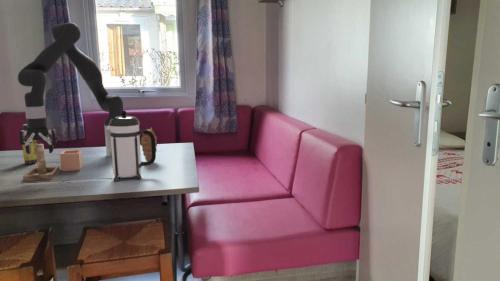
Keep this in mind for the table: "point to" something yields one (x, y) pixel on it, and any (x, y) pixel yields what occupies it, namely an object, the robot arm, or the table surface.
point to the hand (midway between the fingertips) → (40, 153)
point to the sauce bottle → (31, 157)
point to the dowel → (40, 159)
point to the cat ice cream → (147, 145)
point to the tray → (34, 175)
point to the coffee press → (128, 146)
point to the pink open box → (71, 160)
